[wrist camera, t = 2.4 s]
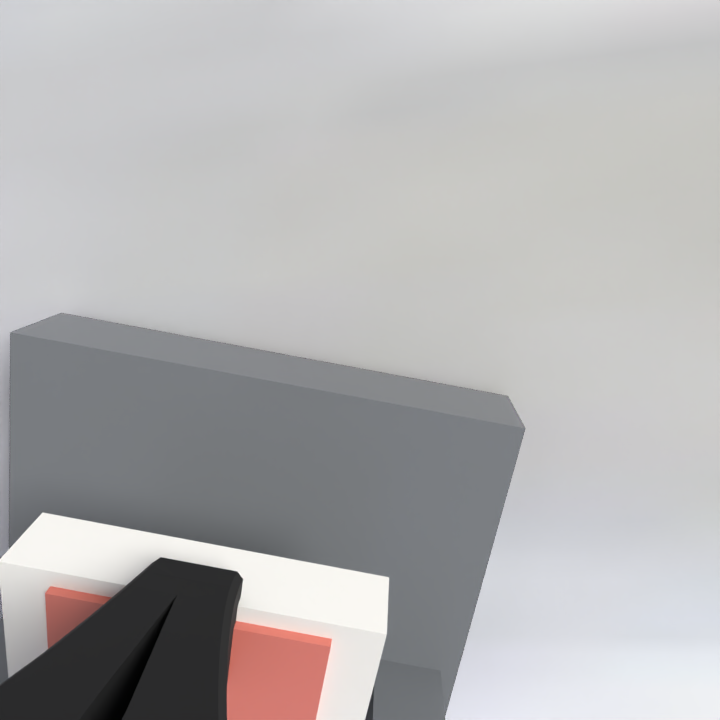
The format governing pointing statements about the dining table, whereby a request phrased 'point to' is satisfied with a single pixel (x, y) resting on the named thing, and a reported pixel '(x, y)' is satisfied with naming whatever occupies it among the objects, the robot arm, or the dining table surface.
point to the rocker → (253, 622)
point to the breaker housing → (272, 471)
